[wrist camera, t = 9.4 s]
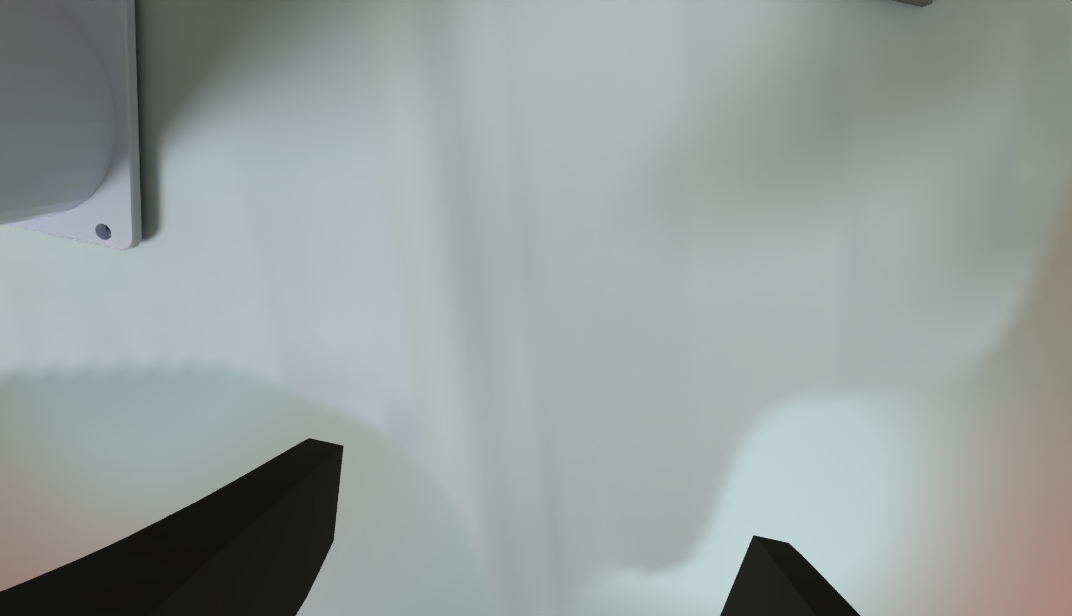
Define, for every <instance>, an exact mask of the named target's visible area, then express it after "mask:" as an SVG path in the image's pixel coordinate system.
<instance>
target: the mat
mask: <svg viewBox="0 0 1072 616" xmlns="http://www.w3.org/2000/svg"><path fill="white" fill-rule="evenodd" d="M893 1H898V2H903V3H907V4H912V5H917V6H921V7H923V6H926V5H929V4H931V3H932V1H933V0H893Z"/></svg>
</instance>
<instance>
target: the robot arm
mask: <svg viewBox="0 0 1072 616" xmlns="http://www.w3.org/2000/svg"><path fill="white" fill-rule="evenodd" d="M0 225H9V226H14V227H18V228H23V229H27V230H32V231H37V232H41V233H46V234H50V235H55V236H60V237H64V238H69V239H73V240H78V241H83V242H87V243H92V244H96V245H101V246H106V247H110V248H115V249H119V250H127V249H131V248H134V247H136V246H138V245H139V243H140V242H141V238H142V228H141V196H140V164H139V131H138V99H137V67H136V35H135V2H134V0H0ZM106 225H107V226H108V227H109V229H110V230H111V236H109V234H108V233H107V232H106V229H105V227H106ZM342 455H343V446H342V445H338V444H333V443H328V442H324V441H319V440H315V439H307V440H305V441H303V442H301V443H299V444H298V445H296V446H294V447H292V448H291V449H289V450H287V451H285V452H284V453H282V454H280V455H278V456H277V457H275V458H273V459H272V460H270V461H268V462H266V463H265V464H263V465H261V466H259V467H258V468H256V469H254V470H252V471H251V472H249V473H247V474H245V475H244V476H242V477H240V478H238V479H237V480H235V481H233V482H231V483H229V484H228V485H226V486H224V487H222V488H220V489H219V490H217V491H216V492H213V493H212V494H210V495H208V496H206V497H204V498H203V499H201V500H199V501H197V502H195V503H193V504H191V505H190V506H187V507H185V508H183V509H181V510H179V511H177V512H175V513H173V514H172V515H169V516H167V517H166V518H164V519H162V520H160V521H158V522H156V523H154V524H152V525H150V526H148V527H146V528H144V529H142V530H140V531H138V532H136V533H134V534H132V535H130V536H128V537H126V538H124V539H122V540H120V541H118V542H115V543H114V544H111V545H109V546H107V547H105V548H103V549H100V550H98V551H96V552H94V553H91V554H89V555H87V556H85V557H83V558H81V559H78V560H76V561H73V562H71V563H69V564H66V565H64V566H62V567H59V568H57V569H55V570H53V571H50V572H47V573H45V574H43V575H40V576H38V577H36V578H34V579H31V580H29V581H26V582H24V583H21V584H19V585H16V586H14V587H12V588H9V589H6V590H3V591H1V592H0V616H295V615H296V614H297V612H298V611H299V609H300V607H301V606H302V604H303V602H304V601H305V599H306V597H307V595H308V593H309V591H310V589H311V587H312V585H313V583H314V581H315V579H316V577H317V575H318V573H319V571H320V569H321V566H322V564H323V562H324V560H325V558H326V556H327V553H328V551H329V549H330V547H331V545H332V543H333V541H334V531H335V522H336V512H337V502H338V493H339V484H340V474H341V464H342ZM721 616H860V615H859V614H858V613H857V612H856V611H855V610H854V609H853V608H852V607H851V605H849V603H848V602H847V601H846V600H845V599H844V598H843V597H842V596H841V595H840V594H839V593H838V592H837V591H836V590H835V589H834V588H833V587H832V586H831V585H830V584H829V583H828V581H827V580H826V579H825V578H824V577H823V576H822V575H821V574H820V573H819V572H818V571H817V570H816V569H815V568H814V567H813V566H812V565H811V564H810V563H809V562H808V561H807V560H806V559H805V558H804V557H803V556H802V555H801V554H800V553H799V552H798V551H797V550H796V549H794V548H793V547H792V546H791V545H790V544H789V543H786V542H782V541H777V540H773V539H768V538H763V537H759V536H753V538H752V540H751V543H750V545H749V548H748V550H747V553H746V555H745V557H744V560H743V562H742V565H741V567H740V569H739V572H738V574H737V577H736V579H735V581H734V584H733V586H732V589H731V591H730V593H729V596H728V598H727V601H726V603H725V606H724V608H723V611H722V613H721Z"/></svg>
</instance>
